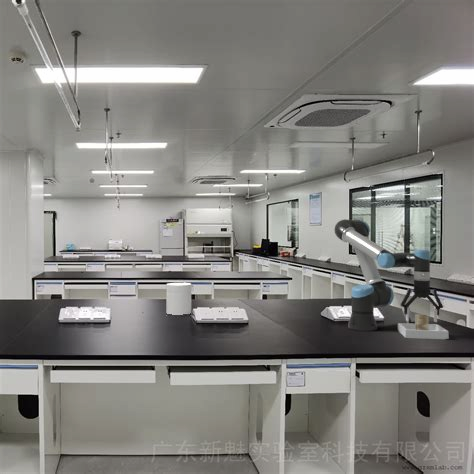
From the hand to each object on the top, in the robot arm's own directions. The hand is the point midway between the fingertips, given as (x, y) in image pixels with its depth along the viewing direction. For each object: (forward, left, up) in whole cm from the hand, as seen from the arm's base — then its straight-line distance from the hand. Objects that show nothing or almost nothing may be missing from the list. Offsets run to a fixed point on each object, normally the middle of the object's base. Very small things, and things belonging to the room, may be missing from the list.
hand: (421, 321), depth 221 cm
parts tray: (0, 0, -7) cm, 7 cm away
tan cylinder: (0, 0, -6) cm, 6 cm away
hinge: (+3, +39, -7) cm, 40 cm away
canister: (-140, +37, -7) cm, 145 cm away
